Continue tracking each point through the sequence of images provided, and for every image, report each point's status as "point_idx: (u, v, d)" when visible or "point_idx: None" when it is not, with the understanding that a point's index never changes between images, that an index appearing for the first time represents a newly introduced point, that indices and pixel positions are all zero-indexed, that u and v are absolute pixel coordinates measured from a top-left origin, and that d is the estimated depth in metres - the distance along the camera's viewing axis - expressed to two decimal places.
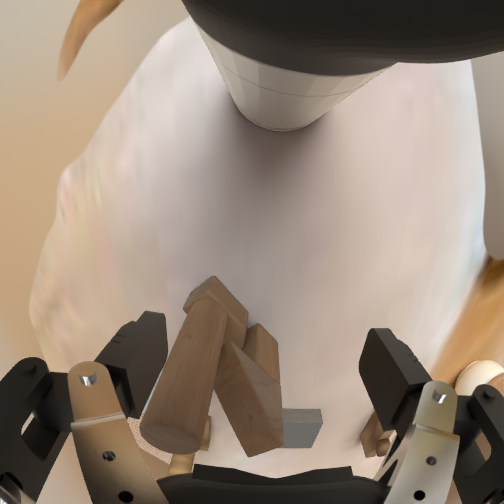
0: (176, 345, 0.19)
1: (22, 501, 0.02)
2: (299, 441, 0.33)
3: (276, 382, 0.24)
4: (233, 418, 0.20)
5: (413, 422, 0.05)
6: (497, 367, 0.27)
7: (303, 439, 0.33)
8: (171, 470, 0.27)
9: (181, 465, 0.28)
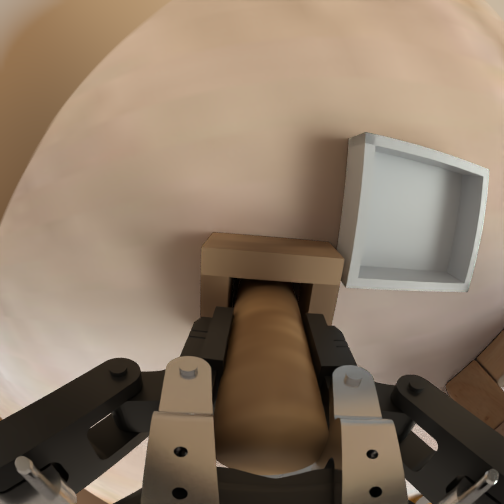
0: None
1: (59, 494, 0.03)
2: None
3: None
4: None
5: (334, 415, 0.05)
6: None
7: None
8: (324, 425, 0.05)
9: None
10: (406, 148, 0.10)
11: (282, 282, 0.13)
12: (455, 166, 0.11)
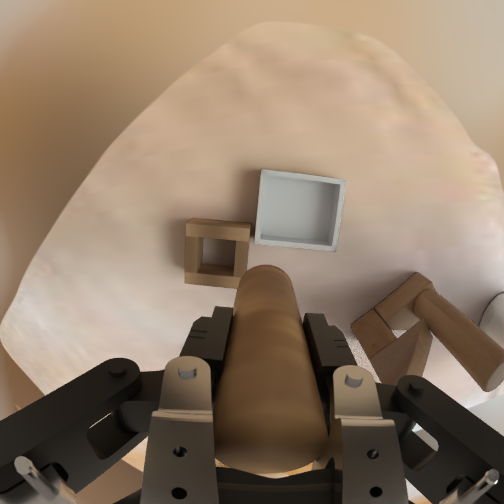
0: None
1: (59, 494, 0.03)
2: None
3: None
4: (410, 371, 0.20)
5: (335, 415, 0.05)
6: None
7: None
8: (322, 423, 0.05)
9: None
10: (284, 175, 0.25)
11: (281, 282, 0.13)
12: (317, 181, 0.25)
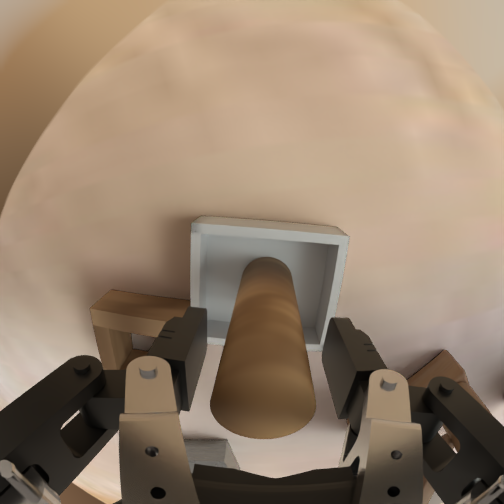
0: None
1: (44, 495, 0.02)
2: None
3: None
4: None
5: (366, 416, 0.05)
6: None
7: None
8: (309, 387, 0.07)
9: None
10: (232, 232, 0.14)
11: (280, 272, 0.14)
12: (296, 240, 0.14)
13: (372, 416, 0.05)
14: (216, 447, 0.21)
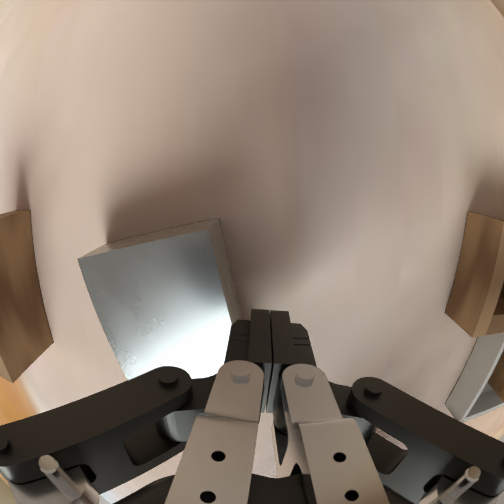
0: None
1: (81, 496, 0.03)
2: (134, 296, 0.11)
3: None
4: None
5: (291, 419, 0.05)
6: None
7: (128, 308, 0.11)
8: None
9: None
10: None
11: None
12: None
13: (297, 418, 0.05)
14: None
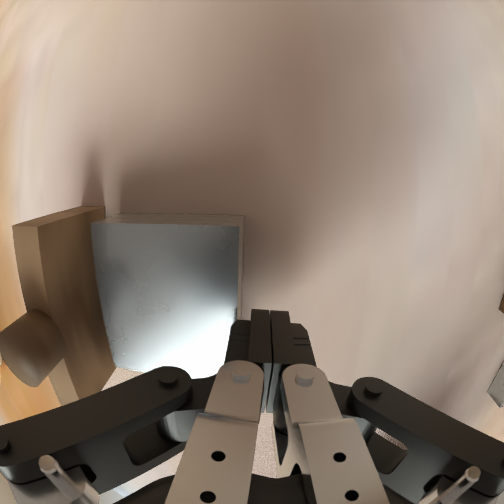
0: None
1: (81, 496, 0.03)
2: (143, 275, 0.10)
3: None
4: None
5: (291, 419, 0.05)
6: None
7: (133, 286, 0.10)
8: None
9: None
10: None
11: None
12: None
13: (298, 418, 0.05)
14: None
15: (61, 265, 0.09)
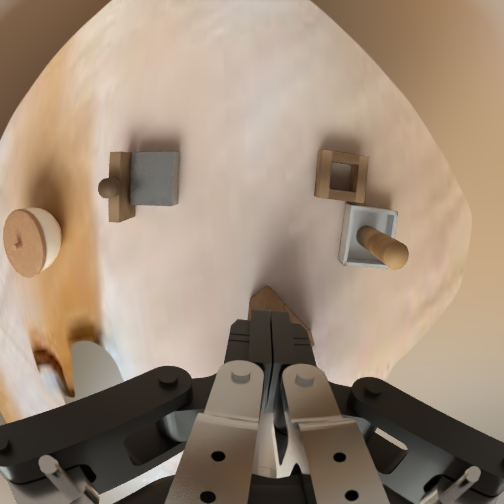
0: None
1: (81, 496, 0.03)
2: (146, 167, 0.33)
3: None
4: None
5: (291, 419, 0.05)
6: None
7: (142, 171, 0.33)
8: (401, 266, 0.28)
9: None
10: (393, 227, 0.34)
11: None
12: None
13: (298, 418, 0.05)
14: (175, 198, 0.36)
15: (124, 165, 0.32)
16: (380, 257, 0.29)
